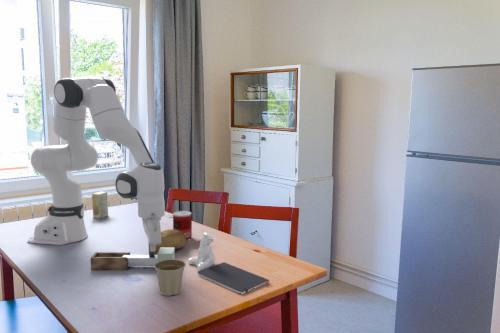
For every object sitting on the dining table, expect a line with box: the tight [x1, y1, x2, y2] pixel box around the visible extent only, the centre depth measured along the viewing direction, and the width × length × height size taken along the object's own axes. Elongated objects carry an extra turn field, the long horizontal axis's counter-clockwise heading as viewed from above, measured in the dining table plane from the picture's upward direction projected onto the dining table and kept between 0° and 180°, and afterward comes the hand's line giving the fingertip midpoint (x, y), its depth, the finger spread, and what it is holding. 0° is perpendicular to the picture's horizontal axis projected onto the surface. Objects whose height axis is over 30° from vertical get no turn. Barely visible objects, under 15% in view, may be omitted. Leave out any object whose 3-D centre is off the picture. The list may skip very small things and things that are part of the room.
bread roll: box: [155, 228, 187, 254], centre depth 166 cm, size 10×15×8 cm, turn 138°
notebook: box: [197, 261, 270, 294], centre depth 140 cm, size 13×2×21 cm
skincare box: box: [91, 190, 109, 219], centre depth 210 cm, size 6×4×12 cm
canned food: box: [172, 210, 193, 242], centre depth 180 cm, size 8×8×11 cm
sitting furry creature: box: [188, 232, 217, 272], centre depth 151 cm, size 10×9×12 cm
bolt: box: [123, 242, 157, 267], centre depth 148 cm, size 16×3×9 cm, turn 93°
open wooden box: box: [90, 251, 131, 271], centre depth 148 cm, size 12×5×4 cm, turn 93°
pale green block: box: [156, 247, 176, 262], centre depth 148 cm, size 5×6×6 cm
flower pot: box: [153, 258, 187, 297], centre depth 130 cm, size 9×9×9 cm
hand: (152, 249), depth 148 cm, fingers closed on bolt, 2 cm apart
